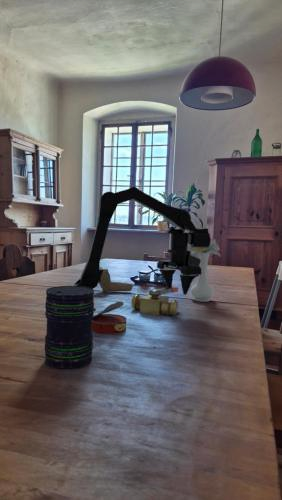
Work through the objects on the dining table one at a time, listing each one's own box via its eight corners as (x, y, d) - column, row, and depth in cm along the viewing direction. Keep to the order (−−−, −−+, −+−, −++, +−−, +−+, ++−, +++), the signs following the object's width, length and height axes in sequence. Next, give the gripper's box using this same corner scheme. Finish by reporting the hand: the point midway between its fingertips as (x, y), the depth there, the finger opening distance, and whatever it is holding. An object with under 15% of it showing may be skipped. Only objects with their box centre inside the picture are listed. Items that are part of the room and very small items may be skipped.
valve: (170, 318, 107) (171, 300, 107) (129, 310, 115) (130, 294, 114) (179, 313, 113) (179, 296, 113) (139, 306, 121) (140, 291, 120)
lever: (155, 296, 111) (155, 291, 111) (146, 294, 113) (146, 289, 113) (179, 292, 120) (179, 287, 120) (170, 290, 123) (170, 285, 123)
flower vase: (212, 295, 145) (215, 237, 144) (222, 305, 127) (225, 239, 125) (181, 294, 146) (184, 236, 144) (187, 304, 127) (190, 237, 125)
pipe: (133, 294, 143) (134, 270, 143) (94, 293, 141) (94, 269, 140) (132, 291, 150) (132, 268, 149) (93, 290, 147) (94, 267, 146)
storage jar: (72, 348, 78) (73, 284, 77) (102, 360, 72) (104, 290, 71) (34, 360, 70) (35, 289, 69) (64, 375, 64) (66, 297, 63)
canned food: (100, 351, 89) (83, 320, 87) (95, 335, 99) (80, 307, 96) (138, 331, 91) (123, 300, 88) (129, 317, 101) (116, 288, 98)
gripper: (215, 249, 113) (212, 295, 114) (181, 245, 129) (179, 286, 130) (188, 249, 107) (186, 298, 109) (157, 245, 124) (155, 287, 125)
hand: (177, 291), depth 118 cm, fingers open, 9 cm apart
